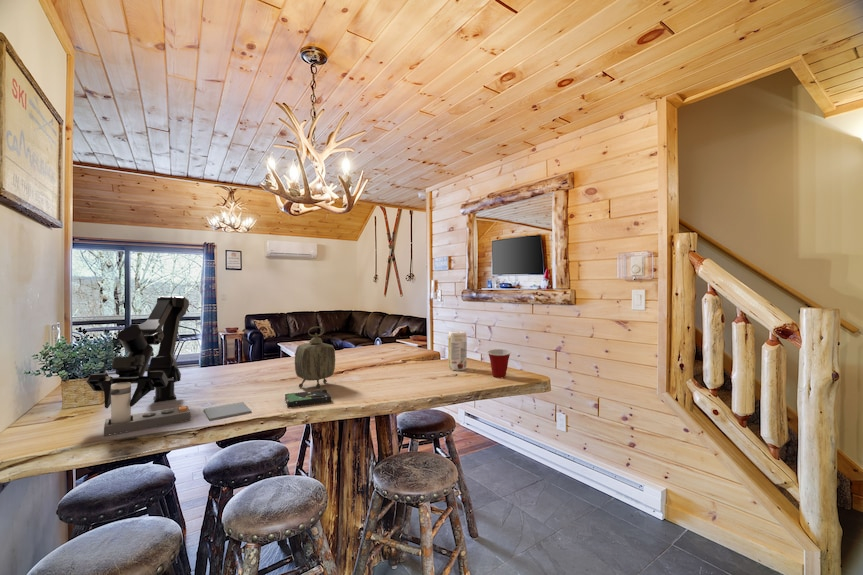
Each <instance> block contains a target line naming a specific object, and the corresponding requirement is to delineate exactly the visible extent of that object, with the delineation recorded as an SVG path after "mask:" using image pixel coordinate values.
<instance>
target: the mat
mask: <svg viewBox="0 0 863 575" xmlns="http://www.w3.org/2000/svg"><path fill="white" fill-rule="evenodd" d="M203 412H204V414H205V416H206V417H207V419H208V421H214V420H219V419H226V418H231V417H235V416H241V415H246V414H251V413H253V412H252V409H251V408H250V407H249V406H248V405H247V404H245V402H244V401H241V402H240V401H239V402H235V403H228V404H223V405H217V406H216V405H215V406H211V407H207V408H203Z"/></svg>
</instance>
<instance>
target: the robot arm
mask: <svg viewBox="0 0 863 575" xmlns="http://www.w3.org/2000/svg"><path fill="white" fill-rule="evenodd" d="M189 307H190V301H189V299H188V298H186V296H172V295H160V296H158V297H157V298H156V304H155V305H154V307H153V309H152V311H151V313H150V314H149V316H148V317H147V319H146V321H144V322H141V323H140V324H138V323H135V324H134V323H133V324H130V325H129V326H127V327H125V328H123V329H122V330H120V331H119V332H118V333H117V338H118V340H119V341H120V344H121V345H122V347H123V348H124V350H125V352H129V353H128V355H127V356H116V357H115V356H114V357H113V359H112V360H113V361H112V364H111V368H110V369H111V370H115V372H114V373H115V374H116V375H117V376H115V377H114V376H110V375H109V374H108V373H107V372H105V373H92V374H90V375H89V376H88V377H87V379H86V383H87V384H88V386H89V387H90V388H91V390H93V391H94V392H103V394H104V395H103V396H104V408H105V409H109V407H111V385H112V384H115V383H120V382H131V385H132V384H133V385H134V384H135V385H136V388H135V391H134V392H133V395H132V396H131V402H130V407H134V406H135V405H136V404H137V403H138V402H139V401H141V399H142V398H144V397H145V396H146V395H148V394H149V393H150V392H151V391H154V392H155V395H154V396H153V402H155V403H156V402H162V401H167V400H168V401H169V400H175V399H177V395H176V393H175V383H177V382H181V377H182V373H181V371H180V369H179V367H178V361H177V360H176V358H175V356H174V353H175V349H176V344H177V337H178V332H179V326H180V323H181V322H180V320H181V319H182V318H183V317H184V316H185V315H186V313H187V311H188V308H189ZM152 345H153V346H154V345H155V346H156V345H159V348H158V352H157V354H156V355H155V354H154V348H153V346H152ZM148 365H149V366H148ZM145 373H146V375H145Z"/></svg>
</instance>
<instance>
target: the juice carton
mask: <svg viewBox="0 0 863 575" xmlns="http://www.w3.org/2000/svg"><path fill="white" fill-rule="evenodd" d="M447 337H448V338H447V348H448V349H447V365H448V368H449V369H450V370H451V369H452V370H451V371H453V370H456V371H466V369H467V356H468V355H467V354H468V353H467V352H468V351H467V346H468V345H467V344H468V342H467V341H468V340H467V339H468V337H467V333H466V332H465V331H463V330H460V331H448V336H447Z"/></svg>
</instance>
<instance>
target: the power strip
mask: <svg viewBox="0 0 863 575" xmlns="http://www.w3.org/2000/svg"><path fill="white" fill-rule="evenodd" d="M188 421H191V411H190V408H189V406H188V405H182V406H178V407H177V406H176V407H172V408H171V407H170V408H165V409H159V410H152V411H147V412H140V413H135V414H131V421H129V422H123V423H117V424H111V417H110V418H109V417H108V418H105V420H104V425H103V426H104V427H103V436H104V435H108V436H110V435H109V434H113V435H115V434H114V433H118V434H121V433H120V432H124V433H127V432H126V431H129V432H133V431H134V430H135V431H139V430H145V429H149V428H155V427H161V426H166V425H171V424H178V423H183V422H188Z"/></svg>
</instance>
